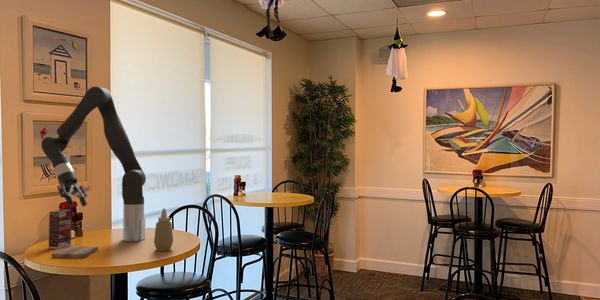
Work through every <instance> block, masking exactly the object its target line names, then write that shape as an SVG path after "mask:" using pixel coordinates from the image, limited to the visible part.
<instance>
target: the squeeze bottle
mask: <svg viewBox="0 0 600 300" xmlns="http://www.w3.org/2000/svg"><path fill="white" fill-rule="evenodd" d="M157 220H158V221H157V222H156V223H155V230H154V239H153V240H154V241H153V243H154V247H155V250H156V251H158V252H167V251H170V250H171V249H172V246H173V243H174V238H173V237H174V236H173V235H174V234H173V226H172V221H170V216H168V215H167V210H166V208H162V211H161V215H160V216H158V219H157Z"/></svg>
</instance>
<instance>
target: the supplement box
mask: <svg viewBox="0 0 600 300" xmlns="http://www.w3.org/2000/svg"><path fill="white" fill-rule="evenodd" d="M48 214H49V218H48V219H49V220H48V222H49V223H48V249H52V250H53V249H54V250H56V249H57V250H58V249H59V250H60V249H63V248H65V247H67V246H72V209H67V208H65V209H64V208H62V209H58V210H54V211H49V213H48Z"/></svg>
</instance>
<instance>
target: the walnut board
mask: <svg viewBox="0 0 600 300" xmlns="http://www.w3.org/2000/svg"><path fill="white" fill-rule="evenodd" d="M98 251H99V246H85V245H84V246H83V245H82V246H77V245H75V246H74V245H68V246H65V247H62V248H60V249H59V250H58V251H55V252H53V253H51V258H53V259H54V258H55V259H58V258H59V259H86V258H87V257H89V256H91V255H92V254H94V253H95V252H98Z"/></svg>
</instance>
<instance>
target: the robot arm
mask: <svg viewBox="0 0 600 300" xmlns="http://www.w3.org/2000/svg"><path fill="white" fill-rule="evenodd" d="M96 108H97V110H98V111H99V114H100V116H101V118H102V121H103V122H102V123H103V132H104V133H103V134H104V136H105V139H106V142H107V144H108V146H109V148H110V150H111V151H112V153H113V154H114V155H115V157H116V158H117V160H118V161H119V163H120V164H121V166H122V169H123V171H124V174H123V176H122V180H121V196H122V201H123V203H122V205H123V206H122V207H123V211H122V212H123V213H122V215H123V217H122V220H123V221H122V231H123V232H122V234H123V235H122V237H123V238H122V240H123V241H125V242H141V241H143V240H144V239H146V218H145V197H144V194H143V186H144V185H145V183H146V180H147V178H146V174H145V172H144V171H143V169H142V167H141V165H140V162H139V161H138V160H137V158H136V155H135V153H134V149H133V147H132V144H131V141H130V138H129V137H128V134H127V132H126V129H125V127H124V125H123V122H122V121H121V117H119V115H118V113H117V109H116V106H115V102H114V100H113V97H112V94H111V91H110V90H108V89H107V88H106V87H104V86H103V87H101V86H91V87H90V88H89V89H87V91H86V92H85V93H84V95H83V96H82V98H81V100H80V102H79V103H78V105H76V107H75V108H74V110H73V111H72V112H71V114H70V115H69V116H68V117H67V118H66V119H65V120H64V121H63V123H61V125H60V126H59V127H58V128H57V129H56V133H57V135H58V137H53V136H45V137H44V138H43V139H42V140H41V145H40V146H41V150H42V152H43V153H44V155H45V156H46V157H47V158H48V160H49V161H50V162H51V165H52V167H53V169H54V174H55V176H56V178H57V182H58V183H59V184H58V185H57V186H56V187H57V190H58V193H59V196H60V197H61V198H64V199H65V200H66V203H67V205H68V206H69V207H71V206H72V205H74V204H75V203H74V201H73V198H72V196H71V195H73V196H74V197H76V198H78V199H79V202H80V205H81V206H82V207H83V208H84V207H86V206H87V205H88V203H87V201H86V198H87V197H88V195H87V192H86V190H85V187H84V185H80V186H79V184H78V178H77V175H76V173H75V171H74V169H73V166H72V165H71V162H70V161H69V158H68V156H67V154H66V153H63V152H64V151H65V150H66V149H67V147H68V146H69V145H68V144H69V143H70V141H71V138H72V137H73V136H75V134H76V133H78V131H79V130H80V129H81V127H82V125H83V124H84V122H85V120H86V119H87V117H88V115H90V113H91V112H93V110H94V109H96Z"/></svg>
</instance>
